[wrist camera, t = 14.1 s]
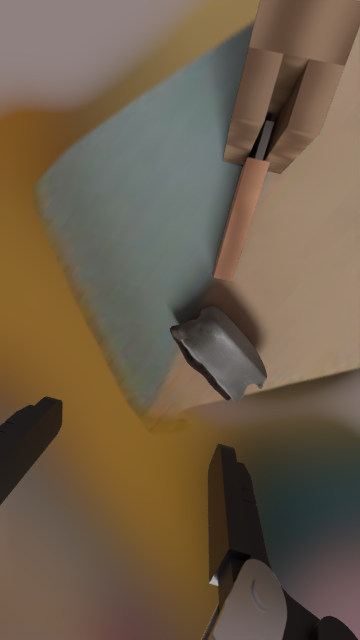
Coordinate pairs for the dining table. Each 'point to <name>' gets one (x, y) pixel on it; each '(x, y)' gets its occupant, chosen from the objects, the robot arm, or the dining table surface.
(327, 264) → the dining table surface
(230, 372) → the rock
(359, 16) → the slotted tan block
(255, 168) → the bed rail
